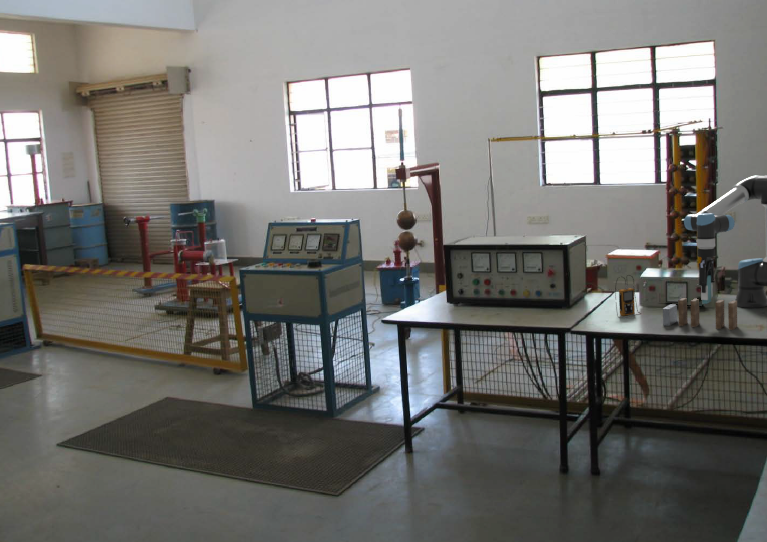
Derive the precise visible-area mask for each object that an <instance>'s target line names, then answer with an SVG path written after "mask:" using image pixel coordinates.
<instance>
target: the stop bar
mask: <svg viewBox="0 0 767 542" xmlns="http://www.w3.org/2000/svg"><path fill="white" fill-rule="evenodd" d="M677 322H678V305H676V304H667V306H665V307H663V308H662V326H668V327H670V326H672V325H674V324H676V323H677Z"/></svg>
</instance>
